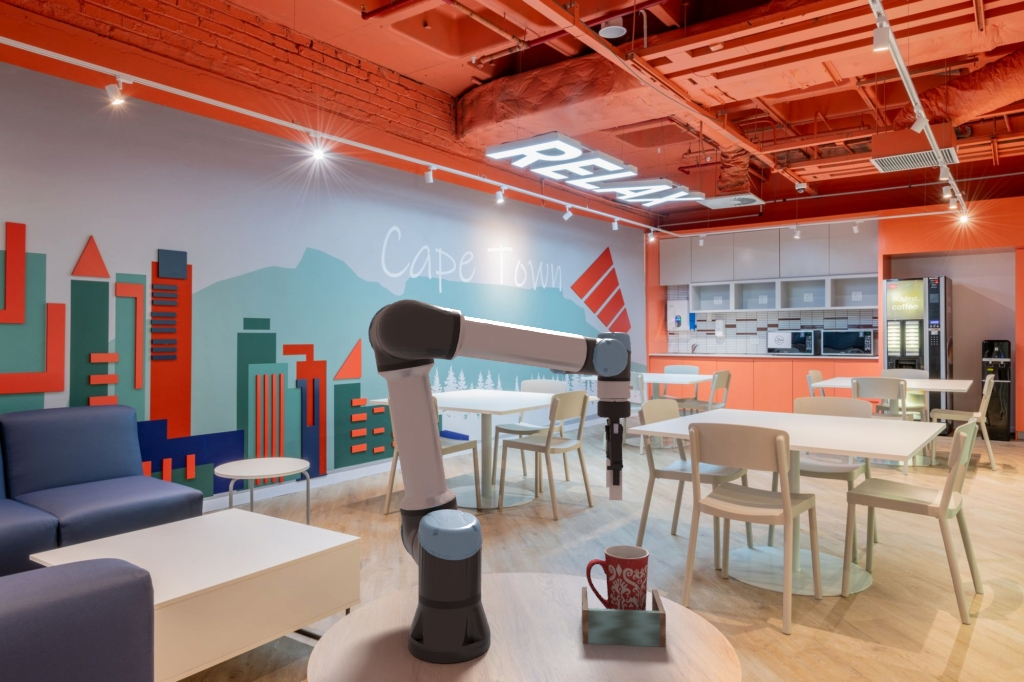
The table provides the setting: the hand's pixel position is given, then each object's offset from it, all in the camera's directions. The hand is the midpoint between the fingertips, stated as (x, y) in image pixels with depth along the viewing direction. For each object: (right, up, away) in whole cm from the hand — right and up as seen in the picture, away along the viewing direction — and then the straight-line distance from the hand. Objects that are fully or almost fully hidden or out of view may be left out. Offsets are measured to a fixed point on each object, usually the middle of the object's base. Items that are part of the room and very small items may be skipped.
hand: (613, 493), depth 146 cm
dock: (-2, -21, -23) cm, 31 cm away
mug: (-2, -21, -17) cm, 27 cm away
